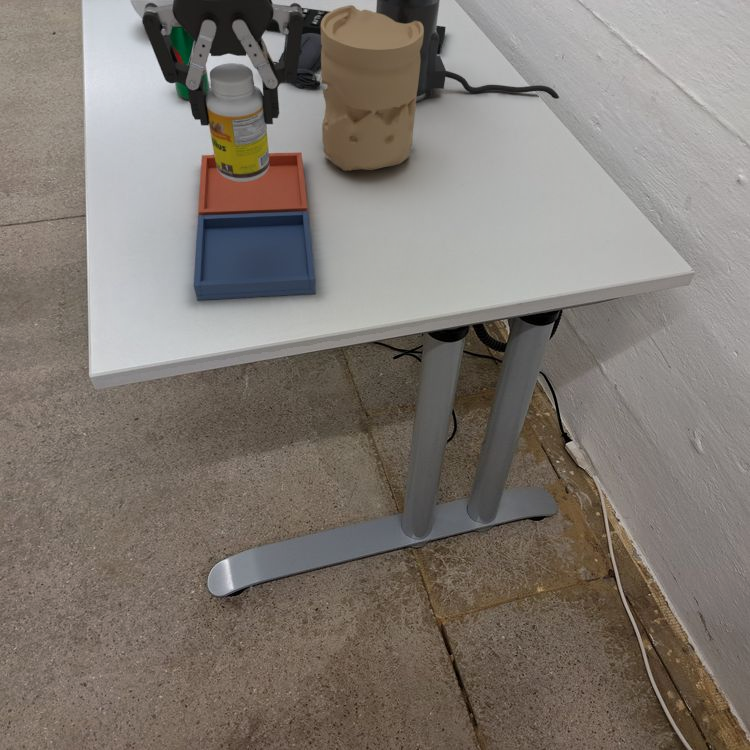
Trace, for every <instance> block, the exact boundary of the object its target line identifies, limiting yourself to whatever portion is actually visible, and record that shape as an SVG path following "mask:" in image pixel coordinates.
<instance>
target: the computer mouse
mask: <svg viewBox="0 0 750 750" xmlns="http://www.w3.org/2000/svg"><path fill="white" fill-rule="evenodd" d="M321 49H322V45H321V35H319V34H314V33H306V34H302V40H301V47H300V55H299V62H298V70H297V77H296V79H295V81H293V82H291V83H292V85H293V86H295V88H298V89H305V88H308V89H311V90H312V89H313V90H315V89H318V88H320V86H321V80H322V79H321V74H318V73H316V71H317V70H318V69H319V68H321ZM283 54H284V50H283V51H282V53H281V55H280V57H279V59H278V61H273V62H274V64H276V63H279V62H281V61H283Z"/></svg>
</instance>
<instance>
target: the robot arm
mask: <svg viewBox="0 0 750 750" xmlns="http://www.w3.org/2000/svg"><path fill="white" fill-rule="evenodd" d="M282 5H283V4H276V3H273V0H174V1H173V4H170V5H164V6H159V7H158V6H157V5H156V4H154V3H148V4H146V6H145V10H144V14H143V19H142V18H141V19H142V20H141V23H142V26H143V28H144V30H145V32H146V35H147V38H148V40H149V43H150V46H151V48H152V50H153V53H154V56H155V58H156V61H157V63H158V65H159V68H160V70H161V73H162V76H163V78H164V80H165V81H166V82H167V83H169V84H175V83H176V82H177V83H180V84H183V85H184V86H185V87H186V88H187V90H188V94H189V100H188V101H189V105H190V111H191V115H192V117H193V118H194V120H195V121H200V126H205V127H206V126H209V121H208V115H207V109H206V102H205V96H206V92H205V86H204V80H203V79H201V78H202V74H203V71H204V69H205V66H206V67H207V62H208V59H209V56H211V57H222V56H225V55H233V56H237V57H248V58H249V60H250V62H251V64H252V66H253V68H254V69H255V70H256V71H257V72H258V75H259V76H260V78H261V83H262V94H263V98H264V109H265V120H266V125H274V119H278V118H279V115H280V104H279V86H280V85H281V84H282V83H285V82H289V83H292V82H294V81H295V79H296V77H297V70H298V62H299V55H300V47H301V40H302V33H303V25H304V20H303V12H302V8H303V7H302V6H301V5H300V4H299V3H298V2H293V3H291V4H290V5H285V6H282ZM287 6H289V7H287ZM439 9H440V0H376V9H375V12H376V13H380V14H383V15H385V16H387V17H389V18H391V19H392V20H393V21H395V22H398V23H403V24H408V23H411V22H413V21H419V22H421V23H422V25H423V28H424V35H423V43H422V46H421V49H420V58H421V61H420V72H419V82H418V89H417V93H416V94H417V97H416V103H417V102H421V101H422V100H424V99H431V98H432V96H433V90H444V89H445V83H446V78H449V79H451V80H455V81H456V82H459V83H460V84H461V85H462V87H463V89H464V90H465V91H466V92H467V93H472V94H479V93H485V92H488V91H496V92H497V91H498V92H506V93H513V94H515V93H516V94H517V93H518V94H520V93H521V94H523V93H531V92H544V93H547V94H548V95H549V96H551V98H553V99H560V96H559V94H558V93H557V92H556V91H555V89H553V88H552V87H550V86H547V85H529V86H510V85H502V84H486V85H482V86H476V87H475V86H471V85H470V83H468V81H467V80H466V79H465V77H463V76H462V75H459V74H457V73H455V72H452V71H449V70H447V69H446V67H445V63H443V62H444V61H443V60H442V57H441V55H438V54H437V49H438V41H439V36H438V34H437V31H436V27H437V26H438V17H439ZM272 19H274V20H276V21H277V22H278V24H279V30H280V32H279V33H280V34H282V35H283V36H284V37H285V39H284V46H283V51H284V54H283V61H281V62H278V63H274V62H275V61H273V59H272V56H271V55H270V52H269V50H268V47H267V45H266V43H265V41H264V39H263V35H264V34H265V32H266V31H267V30H266V29H267V27H268V26H269V24H270V22H271V21H272ZM173 20H176V21H177V22H178V23H179V24H180V25H181V26H182V27H183V28H184V30H185V31H186V32H187V33H188V34H189V35H190V36H191V37H192V39H193V40H194V43H193V48H192V52H191V56H190V60H189V64H188V65H185V64H182V63H179V62H178V59H177V56H176V54H175V51H174V48H173V45H172V43H171V40H170V37H169V35H170V34H171V31H172V21H173Z"/></svg>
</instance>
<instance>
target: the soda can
mask: <svg viewBox="0 0 750 750" xmlns="http://www.w3.org/2000/svg"><path fill="white" fill-rule="evenodd" d="M169 37H170V40H171V43H172V45H173V48H174V51H175V54H176V56H177V59H178V62H179V63H182V64H185V65H188V64H189V60H190V56H191V52H192V48H193V43H194V40H193V39H192V37H191V36H190V35H189V34H188V33H187V32H186V31H185V30H184V28H183V27H182V26H181V25H180V24H179V23H178V22H177V21H176V20H173V21H172V31H171V34H170V35H169ZM201 79H203V80H204V86H205V92H206V93H207V92H208V90H209V89H210V88H211V87H210V82H209V76H208V70H207V65H206V66H205V69H204V71H203V74H202V78H201ZM174 85H175V86H174V87H175V91H176V93H177V94H178V95H179V97H181V98H183V99H184V100H188V101H190V100H189V94H188V90H187V88H186V87H185V86H184V85H183V84H180V83H177V82H176V83H174Z"/></svg>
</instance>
